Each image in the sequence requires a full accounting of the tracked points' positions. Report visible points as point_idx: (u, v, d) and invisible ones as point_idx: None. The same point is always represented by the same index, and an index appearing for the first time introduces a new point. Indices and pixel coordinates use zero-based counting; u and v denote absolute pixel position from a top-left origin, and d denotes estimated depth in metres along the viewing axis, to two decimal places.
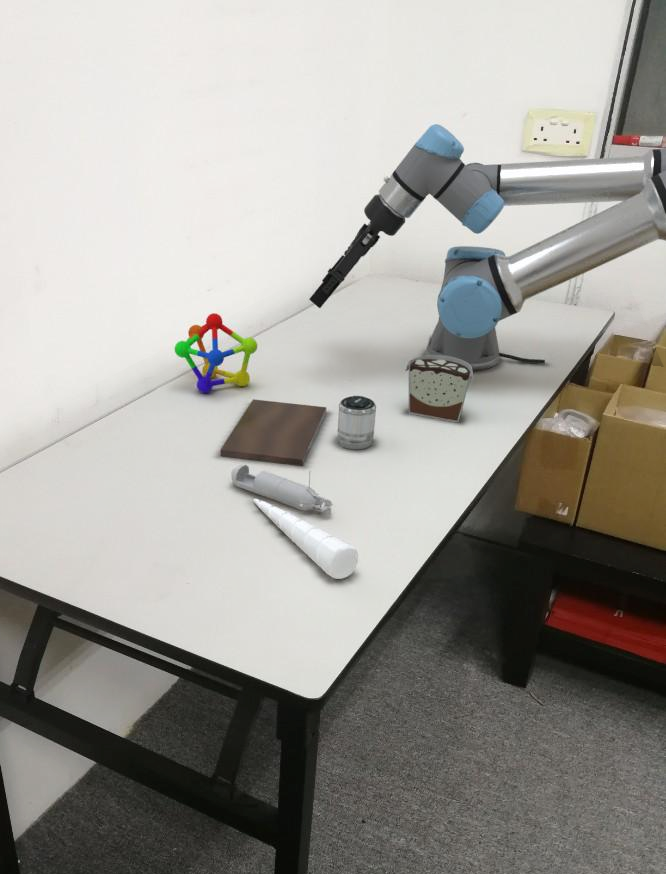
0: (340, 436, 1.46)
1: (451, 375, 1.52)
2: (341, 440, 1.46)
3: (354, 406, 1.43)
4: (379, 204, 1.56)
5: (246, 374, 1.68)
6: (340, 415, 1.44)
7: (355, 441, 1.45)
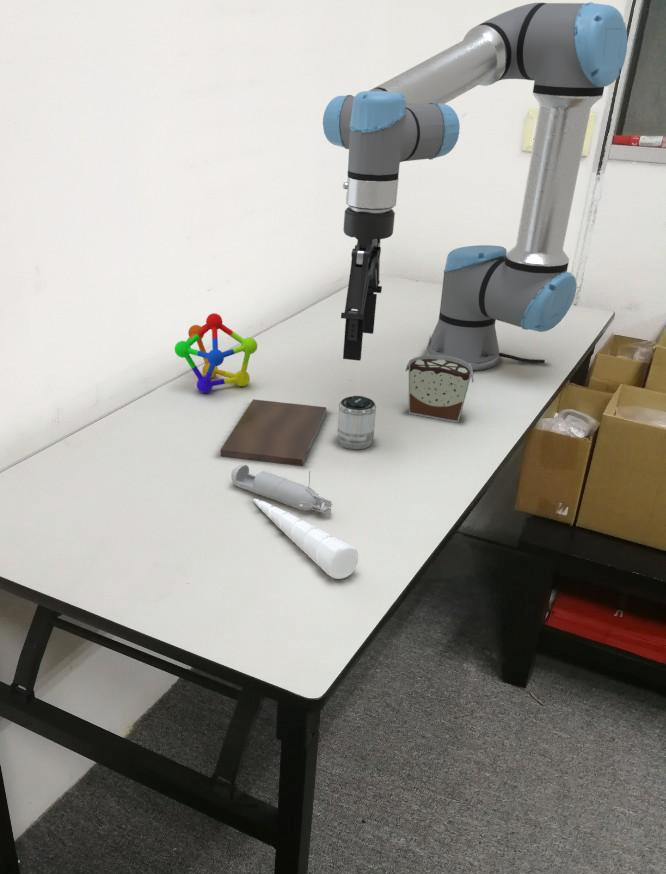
0: (340, 436, 1.46)
1: (451, 375, 1.52)
2: (341, 440, 1.46)
3: (354, 406, 1.43)
4: (352, 214, 1.27)
5: (246, 374, 1.68)
6: (340, 415, 1.44)
7: (355, 441, 1.45)
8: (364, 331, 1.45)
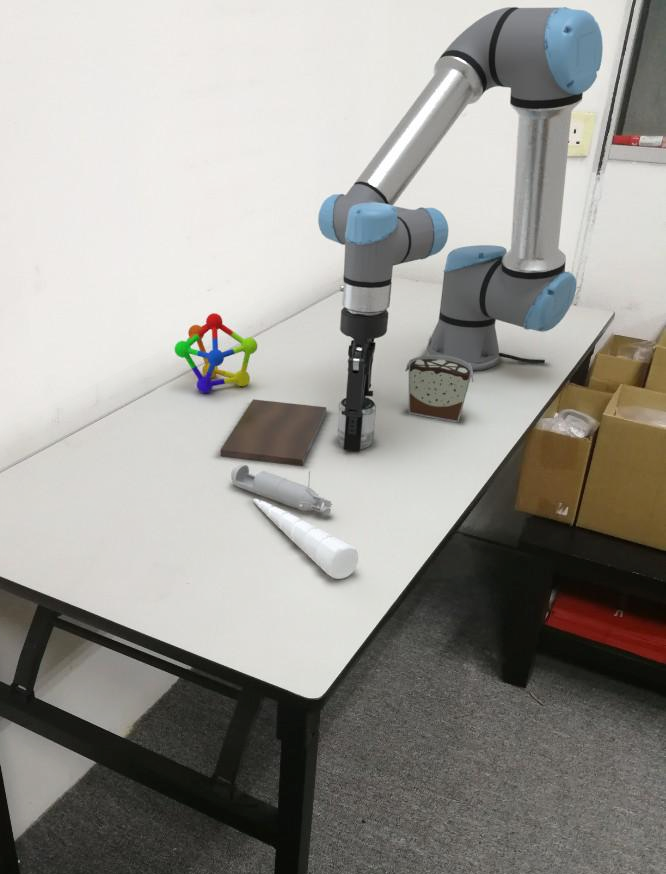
0: (340, 436, 1.46)
1: (451, 375, 1.52)
2: (341, 440, 1.46)
3: None
4: (348, 316, 1.34)
5: (246, 374, 1.68)
6: (340, 415, 1.44)
7: None
8: None
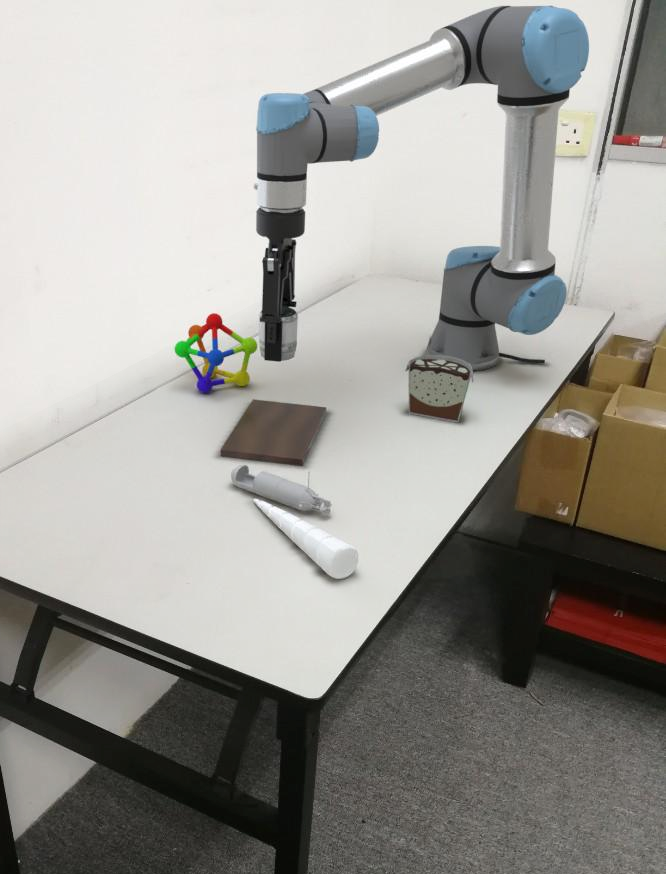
0: (262, 347, 1.41)
1: (451, 375, 1.52)
2: (263, 352, 1.41)
3: None
4: (262, 214, 1.29)
5: (246, 374, 1.68)
6: (260, 324, 1.39)
7: None
8: None
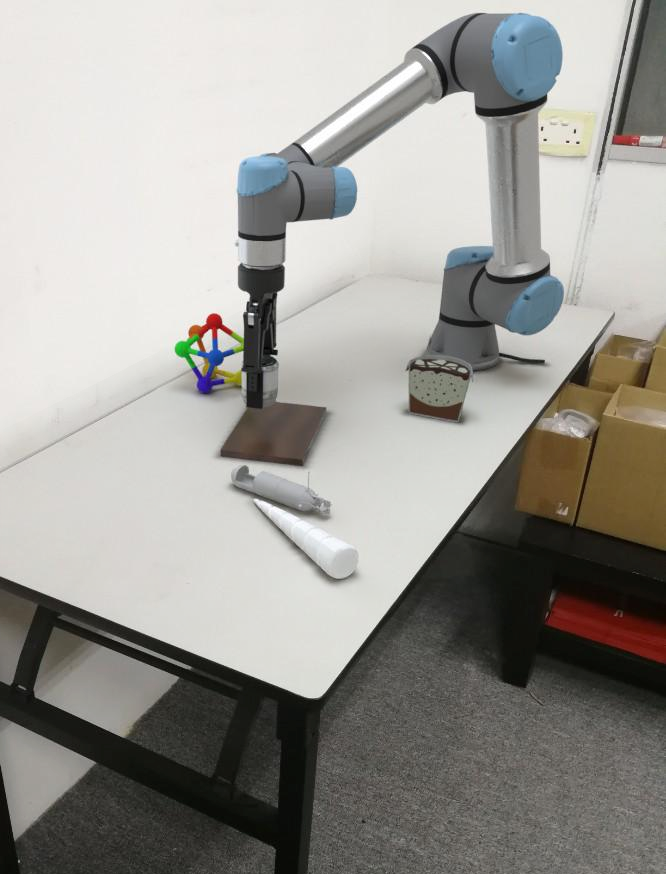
0: (244, 394, 1.46)
1: (451, 375, 1.52)
2: (245, 399, 1.47)
3: None
4: (243, 271, 1.34)
5: None
6: (242, 373, 1.45)
7: None
8: None
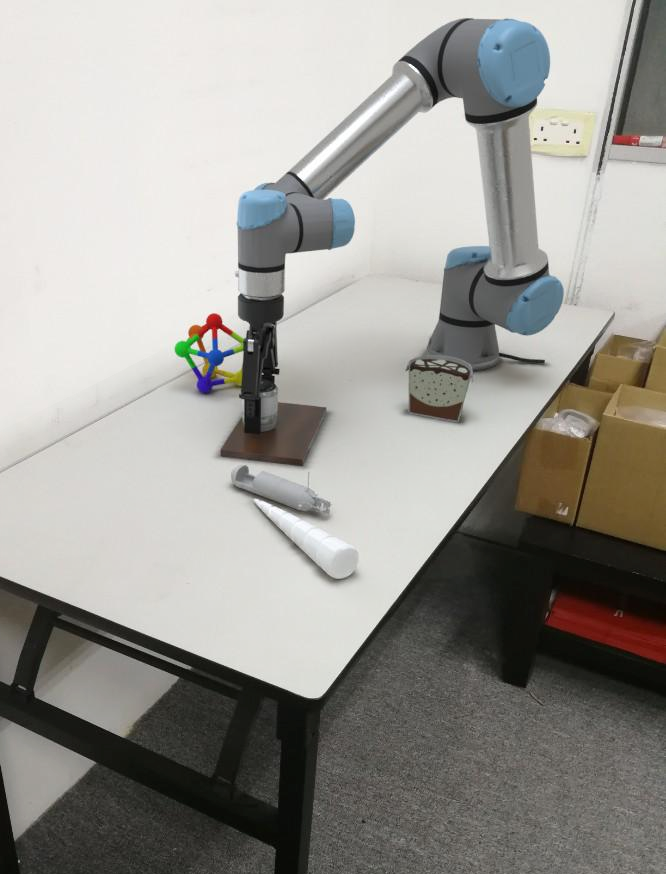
0: None
1: (451, 375, 1.52)
2: None
3: None
4: (243, 301, 1.37)
5: None
6: None
7: None
8: None
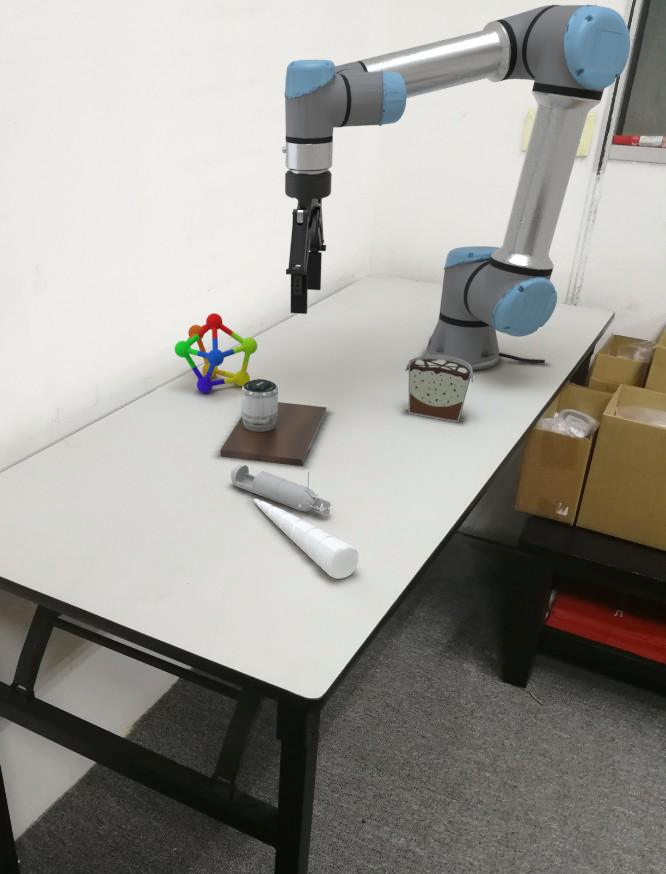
0: (244, 419, 1.49)
1: (451, 375, 1.52)
2: (245, 423, 1.49)
3: (255, 389, 1.45)
4: (291, 176, 1.36)
5: (246, 374, 1.68)
6: (242, 398, 1.47)
7: (258, 424, 1.48)
8: (312, 288, 1.55)
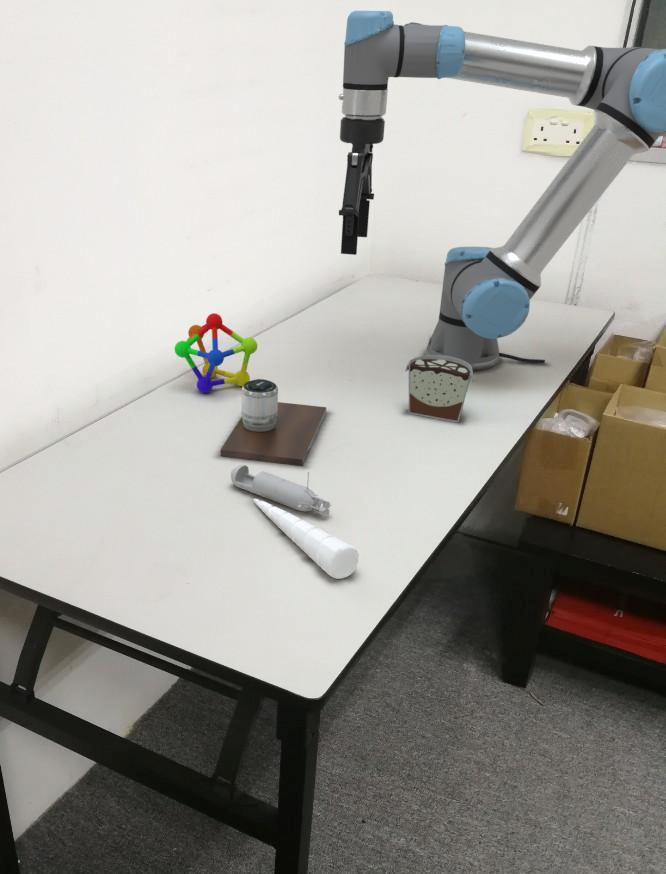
0: (244, 419, 1.49)
1: (451, 375, 1.52)
2: (245, 423, 1.49)
3: (255, 389, 1.45)
4: (347, 121, 1.44)
5: (246, 374, 1.68)
6: (242, 398, 1.47)
7: (258, 424, 1.48)
8: (359, 235, 1.63)
